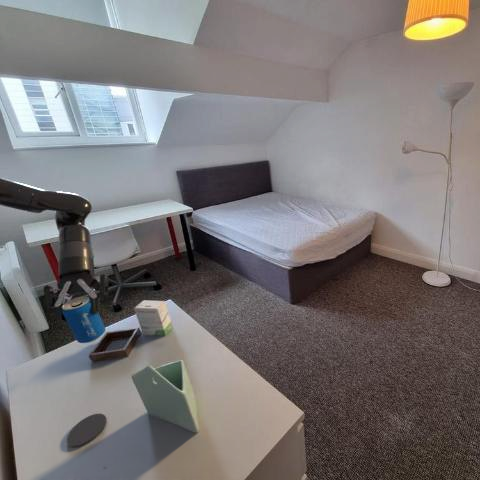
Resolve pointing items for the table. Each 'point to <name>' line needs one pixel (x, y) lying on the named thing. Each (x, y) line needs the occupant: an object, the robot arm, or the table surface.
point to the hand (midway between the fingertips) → (79, 316)
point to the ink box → (153, 317)
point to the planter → (168, 394)
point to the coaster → (86, 430)
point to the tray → (108, 337)
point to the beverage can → (83, 320)
